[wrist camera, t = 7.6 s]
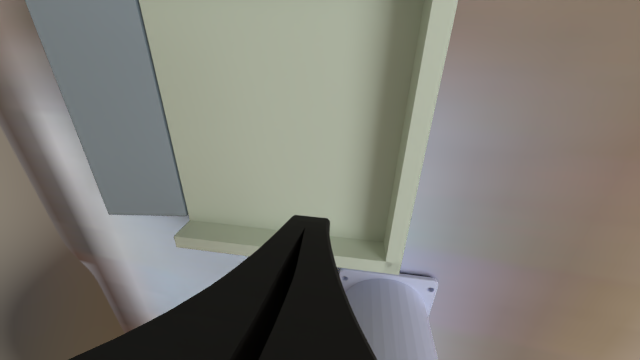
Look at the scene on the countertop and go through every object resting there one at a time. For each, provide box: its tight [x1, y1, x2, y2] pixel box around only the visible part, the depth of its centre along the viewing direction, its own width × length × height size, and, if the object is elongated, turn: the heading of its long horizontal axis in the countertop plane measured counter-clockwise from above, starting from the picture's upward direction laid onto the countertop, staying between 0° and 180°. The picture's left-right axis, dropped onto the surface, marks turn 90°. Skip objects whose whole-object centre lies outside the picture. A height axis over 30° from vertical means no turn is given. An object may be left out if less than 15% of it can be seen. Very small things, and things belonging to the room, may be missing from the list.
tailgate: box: [25, 0, 188, 216], centre depth 18 cm, size 15×2×6 cm
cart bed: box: [139, 0, 458, 275], centre depth 16 cm, size 18×16×4 cm
